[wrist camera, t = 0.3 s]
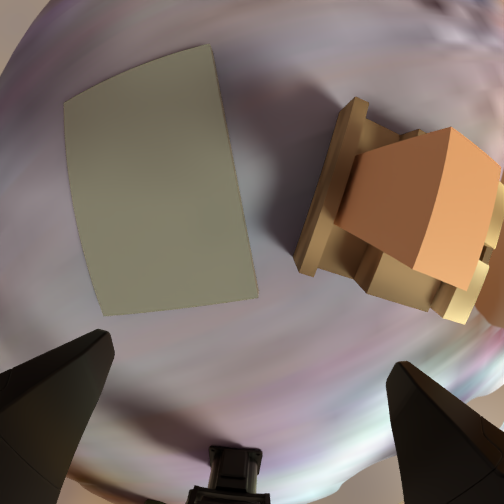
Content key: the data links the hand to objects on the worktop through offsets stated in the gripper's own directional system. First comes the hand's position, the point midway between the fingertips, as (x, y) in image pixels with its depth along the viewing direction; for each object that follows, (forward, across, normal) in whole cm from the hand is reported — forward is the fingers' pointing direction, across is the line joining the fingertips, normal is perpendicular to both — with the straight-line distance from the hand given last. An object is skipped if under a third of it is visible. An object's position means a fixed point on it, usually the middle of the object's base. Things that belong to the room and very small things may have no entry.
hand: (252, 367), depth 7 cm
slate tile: (+14, +9, -3) cm, 17 cm away
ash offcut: (+13, -16, +2) cm, 20 cm away
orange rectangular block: (+14, -7, -4) cm, 16 cm away
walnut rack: (+14, -11, -3) cm, 18 cm away
